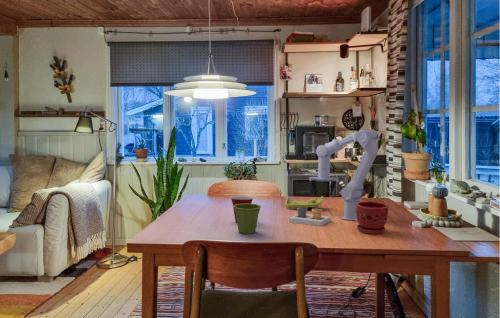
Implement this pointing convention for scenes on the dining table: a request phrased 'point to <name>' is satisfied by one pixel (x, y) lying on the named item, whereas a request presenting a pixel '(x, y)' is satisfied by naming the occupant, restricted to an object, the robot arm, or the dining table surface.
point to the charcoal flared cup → (302, 212)
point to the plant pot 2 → (371, 217)
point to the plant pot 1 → (247, 217)
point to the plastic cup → (240, 201)
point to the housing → (310, 220)
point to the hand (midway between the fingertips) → (323, 195)
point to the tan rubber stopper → (317, 213)
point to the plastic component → (303, 203)
